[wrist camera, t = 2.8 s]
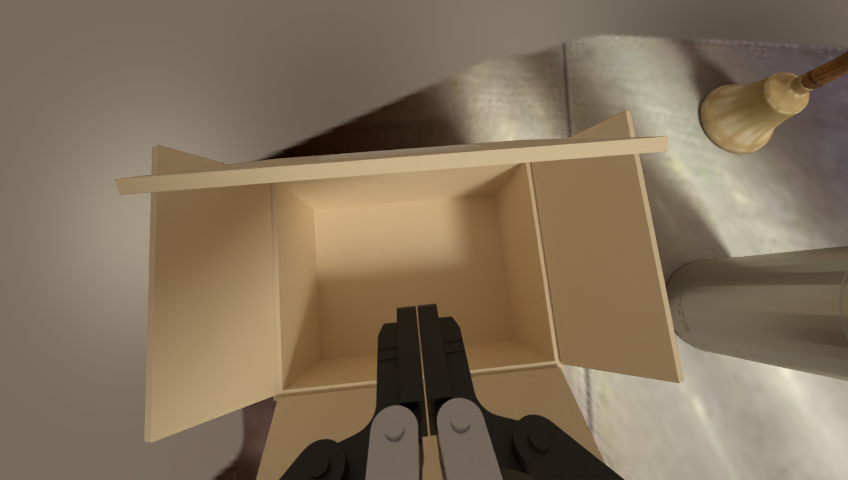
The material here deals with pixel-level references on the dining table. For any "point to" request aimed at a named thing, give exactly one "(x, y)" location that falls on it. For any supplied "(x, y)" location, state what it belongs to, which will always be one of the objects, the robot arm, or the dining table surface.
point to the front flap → (390, 162)
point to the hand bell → (761, 106)
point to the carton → (400, 291)
